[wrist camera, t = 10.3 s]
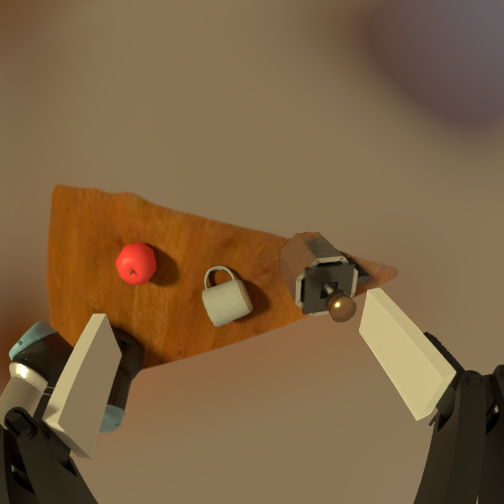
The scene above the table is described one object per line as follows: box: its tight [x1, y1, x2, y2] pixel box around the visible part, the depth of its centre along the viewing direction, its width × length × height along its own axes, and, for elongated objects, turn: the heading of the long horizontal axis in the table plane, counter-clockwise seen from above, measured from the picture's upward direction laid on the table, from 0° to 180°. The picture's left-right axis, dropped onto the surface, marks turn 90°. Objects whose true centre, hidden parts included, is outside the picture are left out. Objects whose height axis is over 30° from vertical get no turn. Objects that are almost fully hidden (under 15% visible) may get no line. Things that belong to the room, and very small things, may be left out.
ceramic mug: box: [202, 266, 253, 327], centre depth 52 cm, size 11×8×8 cm
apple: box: [116, 242, 156, 285], centre depth 47 cm, size 8×8×8 cm
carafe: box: [279, 232, 370, 316], centre depth 50 cm, size 14×11×13 cm
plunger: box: [302, 262, 356, 322], centre depth 46 cm, size 8×8×18 cm
